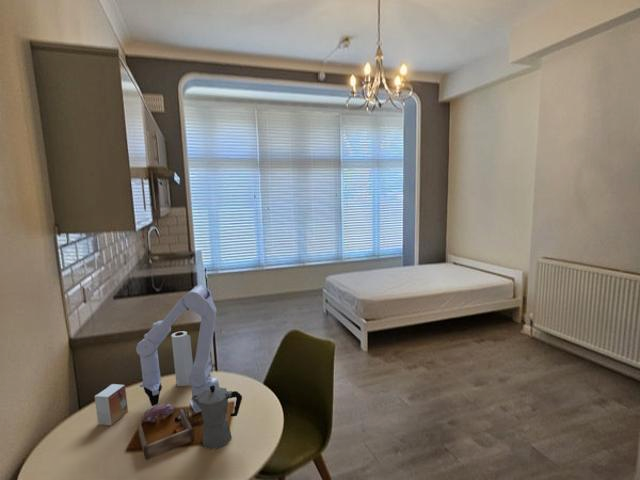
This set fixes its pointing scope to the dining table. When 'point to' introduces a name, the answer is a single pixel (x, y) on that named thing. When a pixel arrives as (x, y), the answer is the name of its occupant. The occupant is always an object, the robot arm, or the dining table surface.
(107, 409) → the small box
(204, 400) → the coffeepot
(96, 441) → the dining table surface
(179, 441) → the box
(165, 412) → the video game controller
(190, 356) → the paper towel roll
